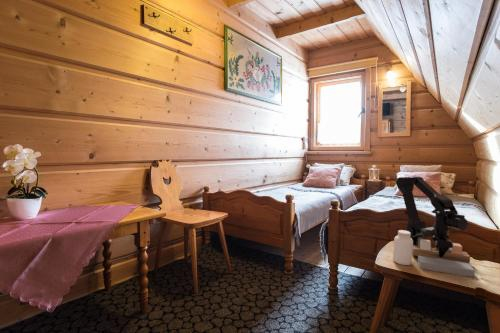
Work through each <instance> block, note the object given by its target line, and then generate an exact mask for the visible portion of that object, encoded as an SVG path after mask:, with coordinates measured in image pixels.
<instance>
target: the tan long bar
mask: <svg viewBox="0 0 500 333" xmlns="http://www.w3.org/2000/svg"><path fill="white" fill-rule="evenodd" d="M413 256H415V257H418V256H424V257H431V258H438V259H445V260H452V261H458V262H465V263H469V264H470V265H471V256H470V255H469V254H468V252H466V251H462V255H459V254H451V252H450V251H449V249H448V250H447V251H446V253H445V254H444V256H443V257H439V250H438V248H436V247H431V251H430V250H423V249H421V248H420V245H419V246H416V245H413V250H412V257H413Z"/></svg>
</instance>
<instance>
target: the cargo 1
mask: <svg viewBox="0 0 500 333" xmlns="http://www.w3.org/2000/svg"><path fill="white" fill-rule="evenodd" d="M419 246H420V248H421V249H423V250H430V251H431V248H432V242H431V239H426V238H425V239H423V238H419Z"/></svg>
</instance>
